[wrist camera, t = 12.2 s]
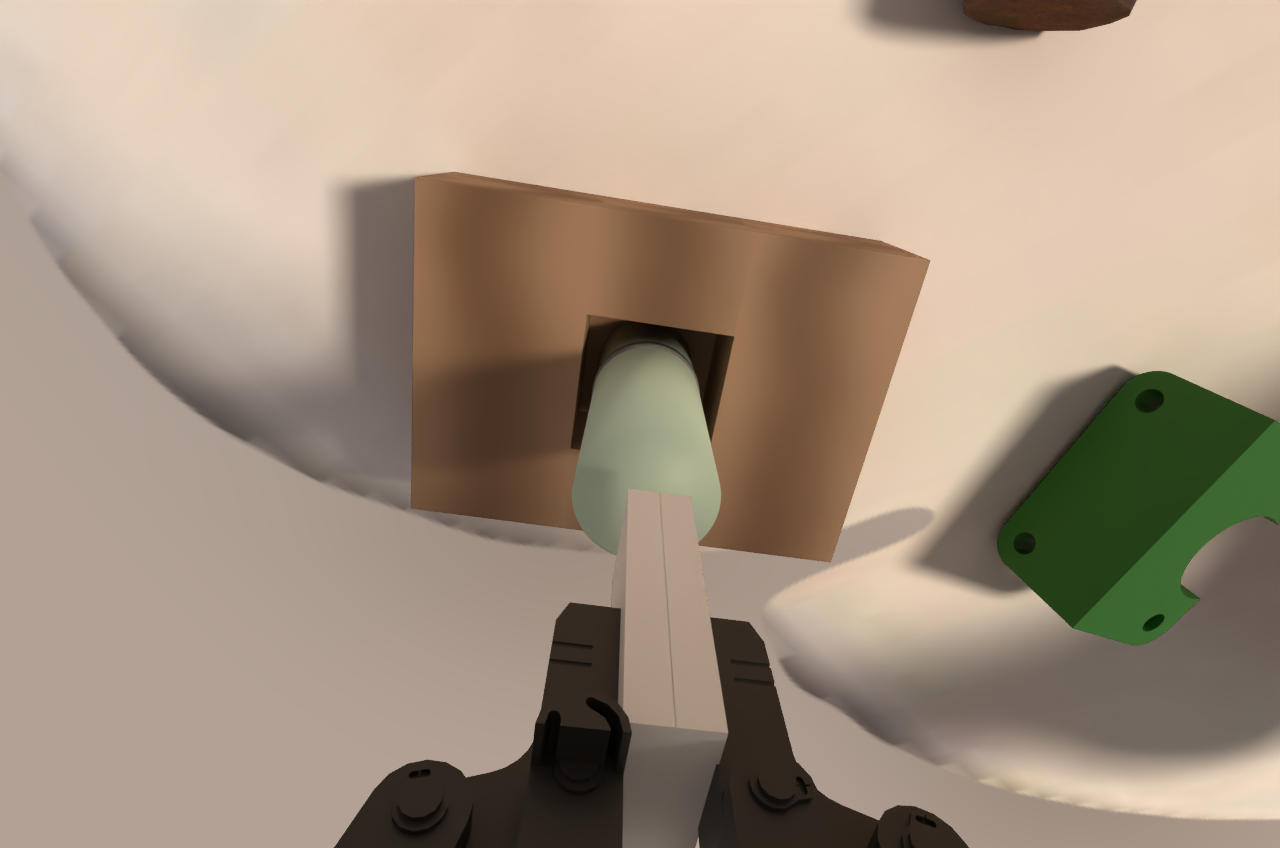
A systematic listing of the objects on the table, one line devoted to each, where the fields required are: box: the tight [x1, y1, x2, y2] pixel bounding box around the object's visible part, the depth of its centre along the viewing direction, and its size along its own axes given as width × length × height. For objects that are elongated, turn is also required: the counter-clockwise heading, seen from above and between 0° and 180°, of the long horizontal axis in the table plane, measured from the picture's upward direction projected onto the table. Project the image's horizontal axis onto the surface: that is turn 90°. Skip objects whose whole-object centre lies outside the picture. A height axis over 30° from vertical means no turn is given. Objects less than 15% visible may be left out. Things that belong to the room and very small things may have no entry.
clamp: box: [997, 371, 1280, 645], centre depth 29 cm, size 12×6×9 cm, turn 146°
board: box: [411, 172, 930, 562], centre depth 27 cm, size 18×13×5 cm
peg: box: [572, 321, 721, 555], centre depth 23 cm, size 4×4×12 cm
